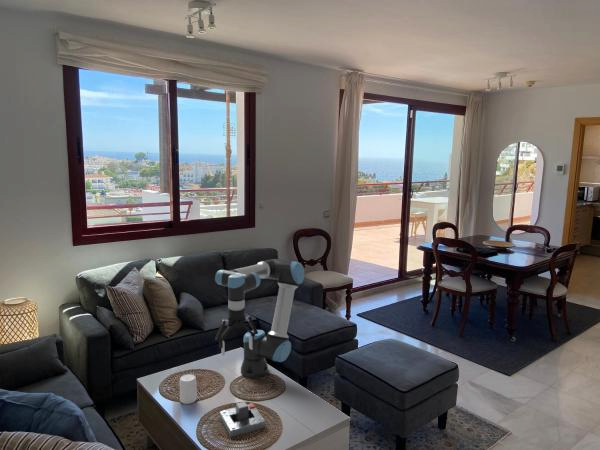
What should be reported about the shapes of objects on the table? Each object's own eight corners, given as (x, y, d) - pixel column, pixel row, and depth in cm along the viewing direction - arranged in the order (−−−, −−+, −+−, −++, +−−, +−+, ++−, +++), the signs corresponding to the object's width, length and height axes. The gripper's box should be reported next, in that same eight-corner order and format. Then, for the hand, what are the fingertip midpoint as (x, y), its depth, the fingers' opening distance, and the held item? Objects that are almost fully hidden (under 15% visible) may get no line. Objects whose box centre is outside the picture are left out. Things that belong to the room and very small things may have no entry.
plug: (245, 417, 205) (245, 400, 204) (248, 423, 201) (248, 405, 200) (235, 420, 203) (235, 403, 202) (239, 425, 199) (238, 408, 198)
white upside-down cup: (192, 405, 215) (191, 382, 213) (177, 403, 216) (176, 380, 214) (199, 396, 222) (199, 374, 221) (184, 395, 224) (183, 372, 222)
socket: (252, 408, 213) (252, 401, 212) (265, 427, 198) (265, 419, 198) (219, 417, 205) (219, 410, 205) (230, 437, 191) (230, 429, 191)
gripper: (258, 301, 214) (258, 343, 218) (207, 309, 203) (208, 353, 207) (264, 306, 208) (264, 349, 211) (212, 314, 197) (213, 359, 200)
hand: (237, 351), depth 209 cm, fingers open, 13 cm apart
